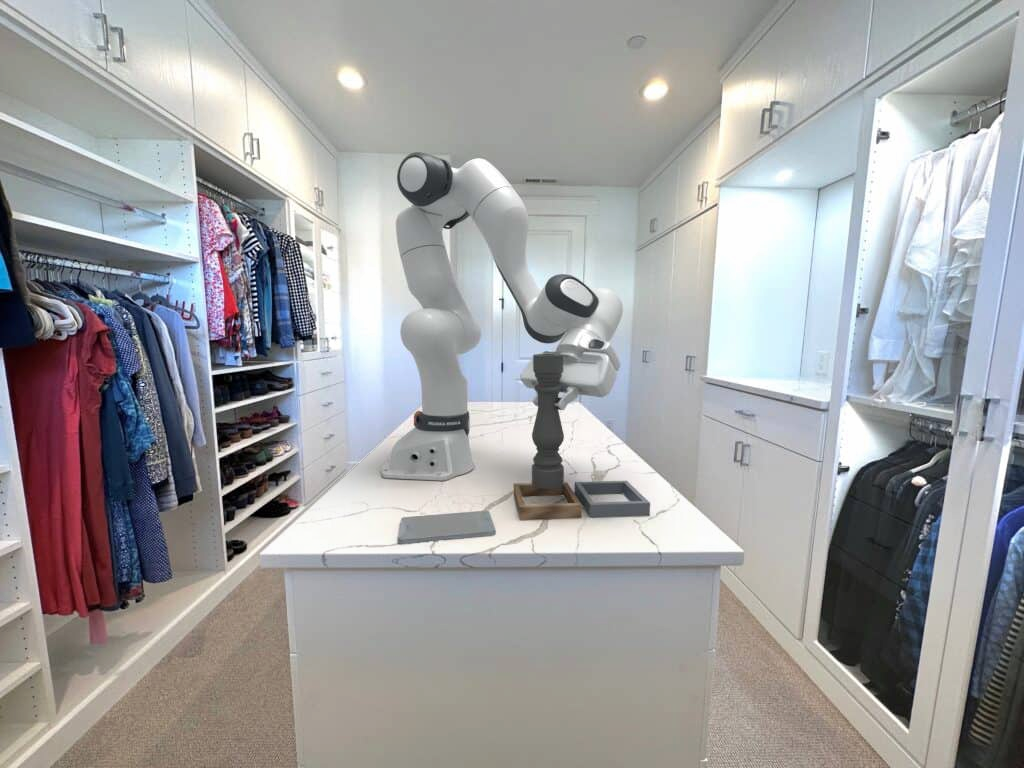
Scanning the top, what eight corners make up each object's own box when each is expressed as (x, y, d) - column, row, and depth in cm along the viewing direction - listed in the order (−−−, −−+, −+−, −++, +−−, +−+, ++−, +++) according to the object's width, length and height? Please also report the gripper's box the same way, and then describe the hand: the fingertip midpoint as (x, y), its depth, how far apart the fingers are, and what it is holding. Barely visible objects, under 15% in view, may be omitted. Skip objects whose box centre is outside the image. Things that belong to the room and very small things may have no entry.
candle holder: (562, 490, 74) (564, 356, 70) (529, 487, 75) (529, 355, 71) (564, 477, 80) (565, 353, 76) (533, 476, 81) (534, 353, 78)
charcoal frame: (589, 517, 73) (590, 504, 72) (574, 493, 84) (574, 481, 84) (649, 515, 74) (650, 502, 74) (626, 491, 85) (626, 480, 85)
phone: (496, 538, 66) (496, 531, 66) (397, 548, 63) (396, 540, 63) (489, 516, 74) (489, 510, 74) (400, 524, 71) (400, 517, 71)
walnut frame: (519, 520, 72) (519, 507, 71) (513, 495, 83) (513, 483, 82) (581, 518, 73) (581, 505, 72) (566, 493, 84) (567, 482, 84)
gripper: (533, 341, 86) (501, 390, 81) (617, 343, 72) (585, 402, 66) (546, 361, 90) (516, 409, 84) (628, 366, 76) (599, 424, 70)
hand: (547, 406), depth 75 cm, fingers closed on candle holder, 4 cm apart
